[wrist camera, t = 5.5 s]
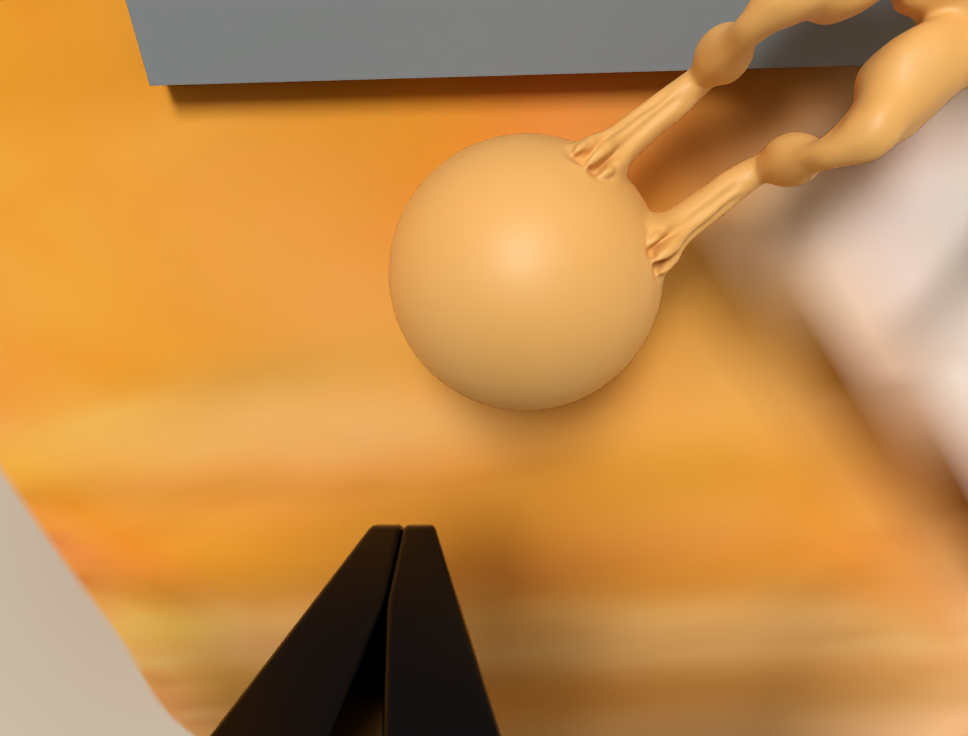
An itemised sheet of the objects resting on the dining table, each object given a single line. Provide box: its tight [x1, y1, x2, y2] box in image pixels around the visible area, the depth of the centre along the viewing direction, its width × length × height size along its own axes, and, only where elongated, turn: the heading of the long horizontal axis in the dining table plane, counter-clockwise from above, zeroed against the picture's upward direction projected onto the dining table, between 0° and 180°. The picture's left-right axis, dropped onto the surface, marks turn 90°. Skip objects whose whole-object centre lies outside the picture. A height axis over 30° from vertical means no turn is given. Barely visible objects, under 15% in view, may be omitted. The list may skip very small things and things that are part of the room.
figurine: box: [389, 0, 968, 410], centre depth 9 cm, size 8×6×12 cm
